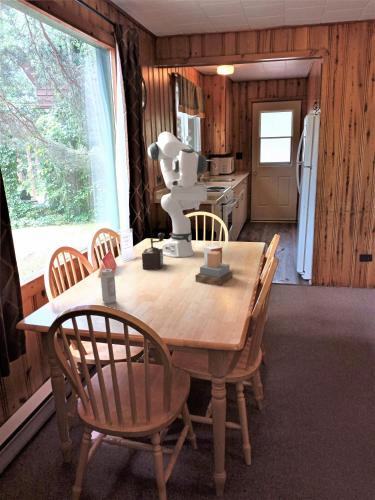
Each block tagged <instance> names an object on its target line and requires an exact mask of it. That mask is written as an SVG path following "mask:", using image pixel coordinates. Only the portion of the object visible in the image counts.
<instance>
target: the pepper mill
mask: <svg viewBox="0 0 375 500" xmlns="http://www.w3.org/2000/svg"><path fill="white" fill-rule="evenodd" d="M157 237H158V240H153V238H150V245H151V247H149V248H145V249H144V250H143V252H142V253H141V261H142V262H141V264H142V270H161V269H162V268H163V267H164V265H165V263H164V255H163V249H162V248H159V247H156V246H155V247H154V243H159V242H165V241H164V237H165V233H163V232H159V233H158V234H157Z"/></svg>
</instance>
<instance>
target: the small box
mask: <svg viewBox="0 0 375 500" xmlns="http://www.w3.org/2000/svg"><path fill="white" fill-rule="evenodd" d="M210 251H217V252H220V263H223V247H222V246H219V245H218V244H217V245H216V244H214V245H208V246H204V247H203V265H205V264H207V253H209V252H210Z"/></svg>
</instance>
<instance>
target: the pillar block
mask: <svg viewBox="0 0 375 500" xmlns="http://www.w3.org/2000/svg"><path fill="white" fill-rule="evenodd" d="M218 266H220V252H217V251H210V252H209V253H207V267H214V268H217V267H218Z"/></svg>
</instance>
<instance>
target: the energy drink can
mask: <svg viewBox="0 0 375 500" xmlns="http://www.w3.org/2000/svg"><path fill="white" fill-rule="evenodd" d="M100 283H101V284H100V286H101V296H102V302H103V303H104V302H105V303H112V304H114V303H116V301H117V294H116V293H117V292H116V291H117V289H116V279H115V271H114V270H113V269H112V268H104V269H102V270H101V272H100ZM105 303H104V304H105Z"/></svg>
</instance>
